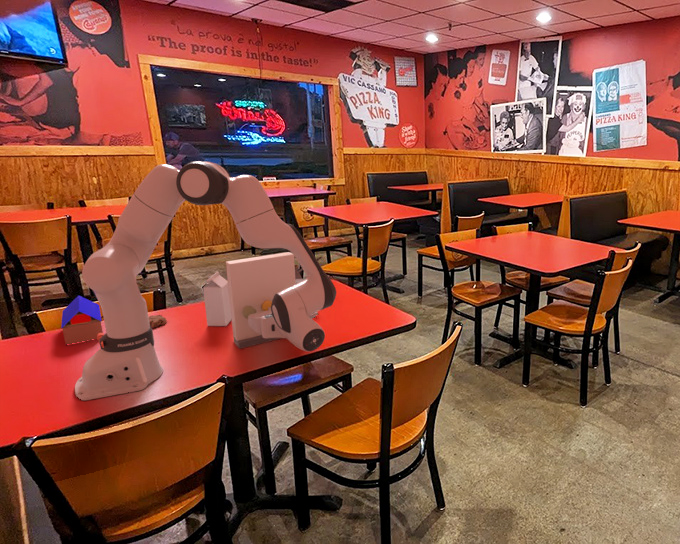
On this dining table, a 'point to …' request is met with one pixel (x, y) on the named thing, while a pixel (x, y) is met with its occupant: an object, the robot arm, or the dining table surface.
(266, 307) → the amber button
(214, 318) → the milk carton
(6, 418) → the dining table surface
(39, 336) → the dining table surface
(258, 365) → the dining table surface
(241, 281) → the button panel
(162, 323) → the cookie
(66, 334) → the house
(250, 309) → the olive button
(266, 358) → the dining table surface
